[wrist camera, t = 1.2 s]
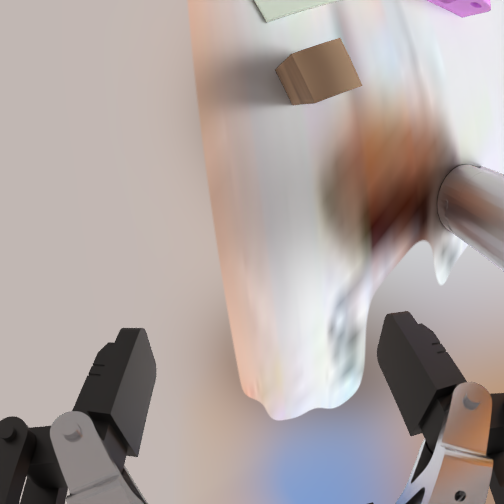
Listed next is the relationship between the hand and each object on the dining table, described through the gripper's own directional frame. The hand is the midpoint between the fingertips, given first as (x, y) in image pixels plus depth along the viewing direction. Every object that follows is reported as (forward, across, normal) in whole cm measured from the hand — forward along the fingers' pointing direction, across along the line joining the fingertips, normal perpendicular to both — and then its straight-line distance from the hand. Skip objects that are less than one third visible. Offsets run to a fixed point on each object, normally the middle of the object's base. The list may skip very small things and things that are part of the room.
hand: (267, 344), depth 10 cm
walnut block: (+24, -6, -10) cm, 27 cm away
